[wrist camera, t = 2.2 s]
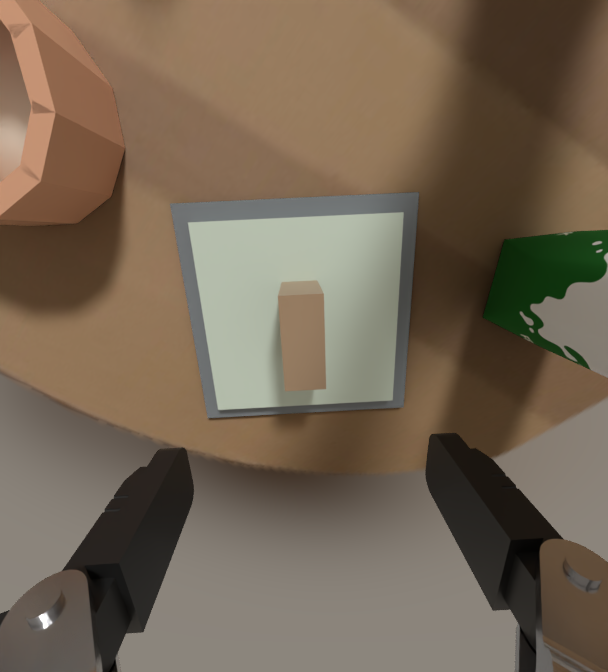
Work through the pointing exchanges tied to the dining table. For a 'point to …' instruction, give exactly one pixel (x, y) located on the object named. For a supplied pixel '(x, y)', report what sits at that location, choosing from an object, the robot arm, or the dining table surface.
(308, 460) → the dining table surface
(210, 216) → the mat
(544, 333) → the milk carton
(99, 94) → the bowl
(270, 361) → the lid
